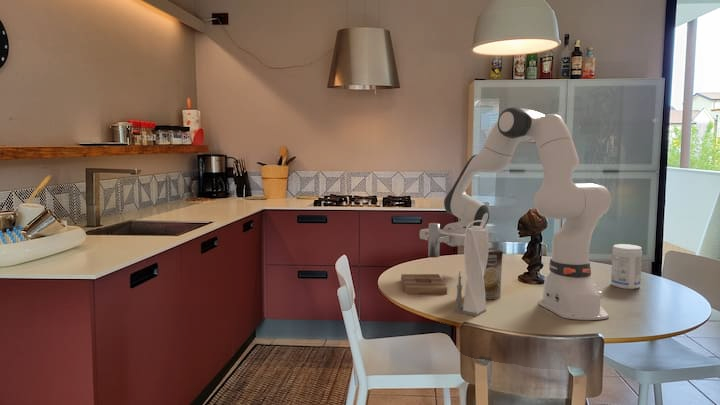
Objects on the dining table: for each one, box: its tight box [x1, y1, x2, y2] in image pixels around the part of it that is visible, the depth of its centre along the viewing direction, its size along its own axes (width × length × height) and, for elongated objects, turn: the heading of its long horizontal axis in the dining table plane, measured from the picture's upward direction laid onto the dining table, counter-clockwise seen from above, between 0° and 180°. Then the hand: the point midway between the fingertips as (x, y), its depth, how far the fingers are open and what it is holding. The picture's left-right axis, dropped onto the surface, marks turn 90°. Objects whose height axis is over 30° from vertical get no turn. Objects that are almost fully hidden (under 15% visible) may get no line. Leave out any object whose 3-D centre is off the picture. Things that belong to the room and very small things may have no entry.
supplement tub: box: [610, 243, 643, 290], centre depth 190 cm, size 10×10×15 cm
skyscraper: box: [454, 220, 490, 317], centre depth 159 cm, size 8×8×28 cm
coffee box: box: [483, 247, 503, 301], centre depth 175 cm, size 9×6×16 cm
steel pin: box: [427, 222, 441, 259], centre depth 191 cm, size 4×4×12 cm
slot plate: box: [400, 273, 448, 295], centre depth 188 cm, size 18×14×2 cm
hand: (432, 239), depth 190 cm, fingers closed on steel pin, 4 cm apart
